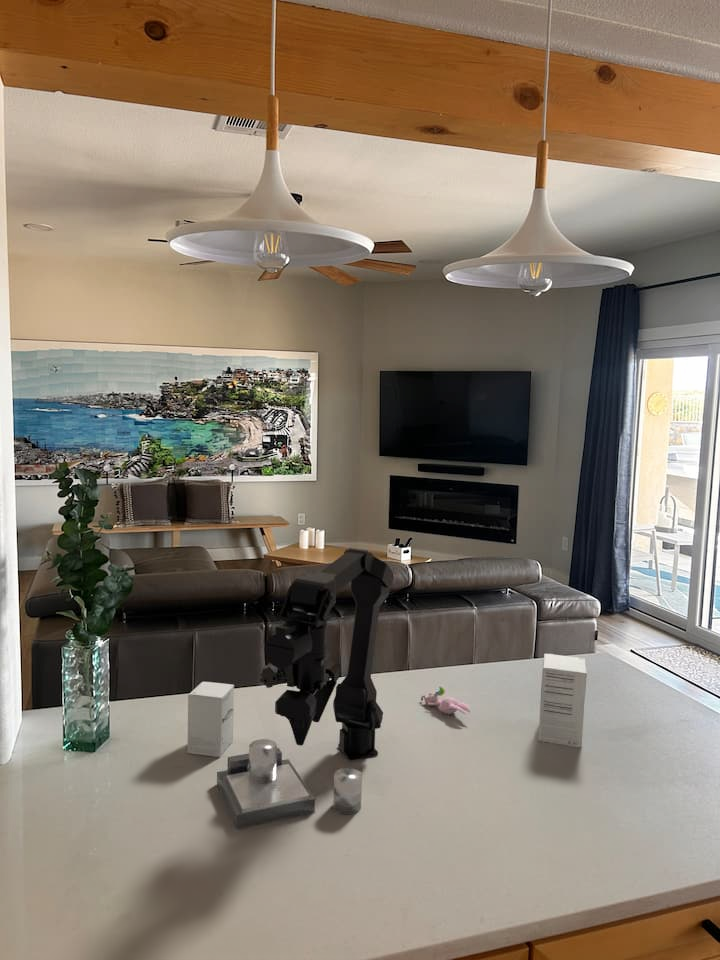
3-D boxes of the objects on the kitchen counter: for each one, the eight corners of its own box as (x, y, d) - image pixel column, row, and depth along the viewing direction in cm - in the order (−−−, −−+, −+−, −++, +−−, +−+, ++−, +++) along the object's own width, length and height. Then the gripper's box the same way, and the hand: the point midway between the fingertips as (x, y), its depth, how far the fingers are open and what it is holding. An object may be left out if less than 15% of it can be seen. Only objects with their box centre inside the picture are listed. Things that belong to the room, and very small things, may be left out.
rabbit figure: (415, 709, 173) (458, 723, 161) (414, 684, 174) (456, 696, 161) (435, 703, 177) (478, 717, 165) (434, 679, 177) (476, 691, 165)
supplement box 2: (539, 722, 165) (543, 652, 163) (581, 729, 163) (586, 657, 161) (537, 741, 156) (542, 666, 154) (582, 748, 153) (587, 672, 151)
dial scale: (288, 770, 140) (288, 746, 140) (314, 811, 127) (315, 785, 126) (216, 784, 135) (217, 758, 134) (236, 828, 121) (237, 800, 121)
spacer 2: (354, 796, 132) (355, 765, 131) (365, 811, 128) (366, 779, 127) (329, 802, 130) (329, 770, 129) (339, 817, 125) (340, 784, 125)
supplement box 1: (220, 758, 144) (221, 698, 143) (186, 753, 146) (186, 693, 144) (234, 741, 152) (235, 684, 150) (201, 737, 153) (201, 680, 152)
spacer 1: (279, 780, 131) (280, 749, 130) (252, 786, 129) (253, 754, 128) (271, 767, 135) (272, 737, 134) (245, 772, 133) (246, 741, 132)
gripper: (285, 628, 138) (284, 705, 140) (246, 662, 120) (245, 751, 122) (341, 634, 135) (339, 713, 137) (310, 670, 117) (308, 761, 119)
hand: (308, 732), depth 129 cm, fingers open, 9 cm apart
